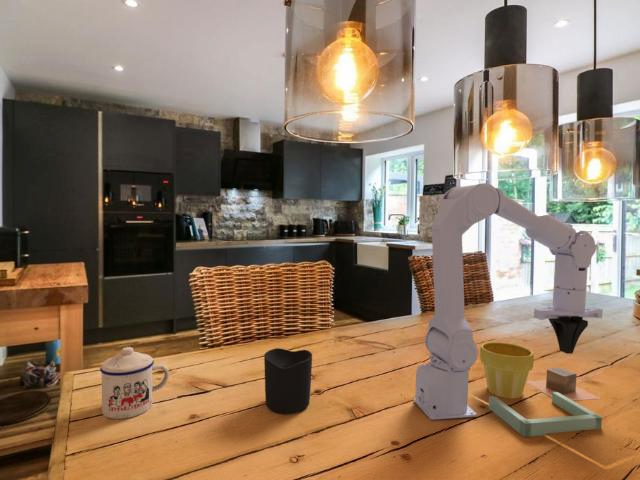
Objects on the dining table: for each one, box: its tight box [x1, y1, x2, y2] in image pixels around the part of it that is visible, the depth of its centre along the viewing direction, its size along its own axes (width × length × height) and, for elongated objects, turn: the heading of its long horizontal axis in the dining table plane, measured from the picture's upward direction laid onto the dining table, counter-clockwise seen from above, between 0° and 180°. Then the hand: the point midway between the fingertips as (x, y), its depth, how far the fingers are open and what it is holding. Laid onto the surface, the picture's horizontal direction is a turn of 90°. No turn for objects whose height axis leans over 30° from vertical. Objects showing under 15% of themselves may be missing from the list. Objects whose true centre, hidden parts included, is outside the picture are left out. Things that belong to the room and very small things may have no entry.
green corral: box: [488, 392, 603, 438], centre depth 73 cm, size 15×10×2 cm, turn 100°
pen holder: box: [263, 347, 313, 415], centre depth 76 cm, size 9×9×10 cm
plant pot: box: [479, 341, 535, 400], centre depth 84 cm, size 10×10×10 cm
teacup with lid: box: [99, 346, 170, 420], centre depth 74 cm, size 12×9×12 cm
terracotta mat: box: [525, 379, 601, 402], centre depth 85 cm, size 10×10×1 cm
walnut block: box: [545, 366, 577, 395], centre depth 85 cm, size 4×4×4 cm
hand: (566, 352), depth 81 cm, fingers closed
